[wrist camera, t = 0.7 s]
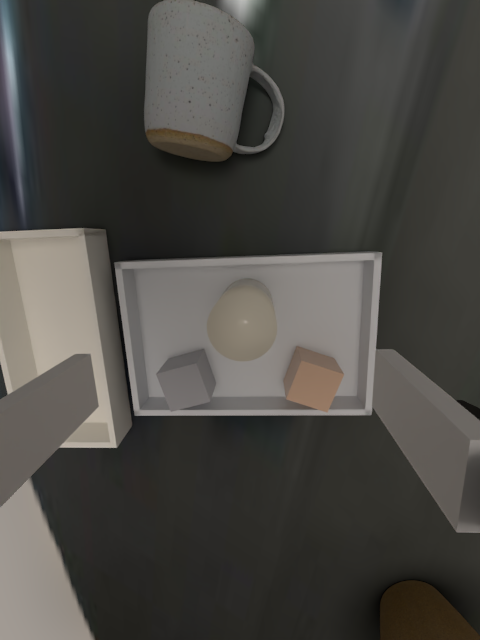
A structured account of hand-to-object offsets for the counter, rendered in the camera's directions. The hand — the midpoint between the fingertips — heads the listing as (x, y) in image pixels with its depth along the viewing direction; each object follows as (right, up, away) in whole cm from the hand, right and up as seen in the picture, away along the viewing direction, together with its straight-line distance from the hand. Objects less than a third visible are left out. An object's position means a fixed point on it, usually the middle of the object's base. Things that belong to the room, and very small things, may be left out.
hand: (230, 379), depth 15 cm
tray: (+1, +2, +18) cm, 18 cm away
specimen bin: (-17, +1, +19) cm, 26 cm away
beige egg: (+1, +4, +17) cm, 17 cm away
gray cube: (-5, -3, +19) cm, 20 cm away
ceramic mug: (-1, +21, +13) cm, 25 cm away
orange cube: (+7, -2, +18) cm, 20 cm away
